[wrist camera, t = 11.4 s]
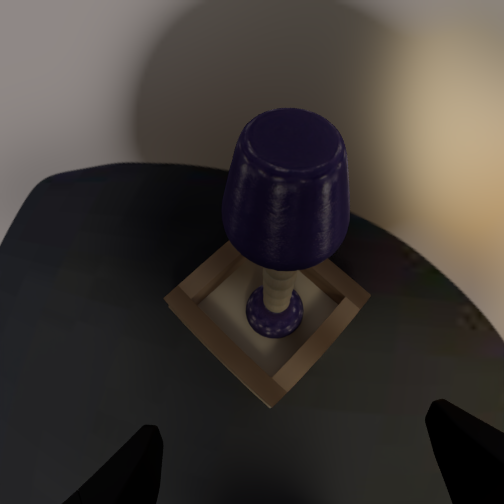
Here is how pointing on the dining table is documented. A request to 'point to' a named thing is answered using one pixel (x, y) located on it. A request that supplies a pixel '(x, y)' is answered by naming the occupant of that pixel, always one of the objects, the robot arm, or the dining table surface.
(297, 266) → the toy lamp
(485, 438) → the robot arm
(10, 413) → the dining table surface
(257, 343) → the frame
